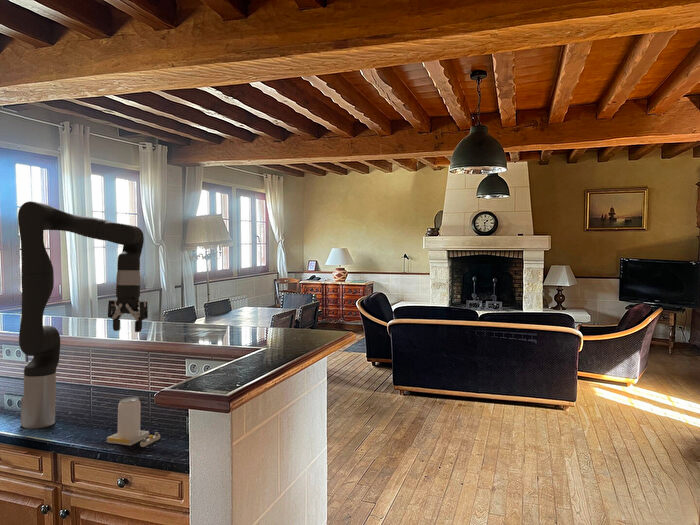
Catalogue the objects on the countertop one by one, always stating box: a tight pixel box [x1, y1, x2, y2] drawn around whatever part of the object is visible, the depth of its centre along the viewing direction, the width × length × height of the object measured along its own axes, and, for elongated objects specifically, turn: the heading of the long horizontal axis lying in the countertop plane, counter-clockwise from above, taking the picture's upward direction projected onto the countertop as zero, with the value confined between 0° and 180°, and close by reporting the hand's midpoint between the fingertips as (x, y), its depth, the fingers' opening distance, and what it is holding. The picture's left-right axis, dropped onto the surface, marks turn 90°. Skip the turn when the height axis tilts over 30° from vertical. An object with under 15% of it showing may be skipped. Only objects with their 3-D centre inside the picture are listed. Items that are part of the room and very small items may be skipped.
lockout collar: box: [106, 429, 150, 446], centre depth 154 cm, size 9×9×2 cm
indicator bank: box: [139, 431, 161, 448], centre depth 152 cm, size 1×8×2 cm, turn 165°
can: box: [117, 396, 142, 440], centre depth 154 cm, size 6×6×12 cm
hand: (127, 331), depth 167 cm, fingers open, 8 cm apart
